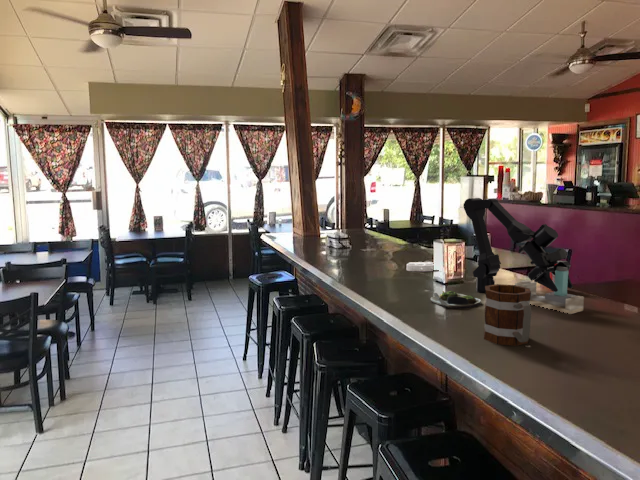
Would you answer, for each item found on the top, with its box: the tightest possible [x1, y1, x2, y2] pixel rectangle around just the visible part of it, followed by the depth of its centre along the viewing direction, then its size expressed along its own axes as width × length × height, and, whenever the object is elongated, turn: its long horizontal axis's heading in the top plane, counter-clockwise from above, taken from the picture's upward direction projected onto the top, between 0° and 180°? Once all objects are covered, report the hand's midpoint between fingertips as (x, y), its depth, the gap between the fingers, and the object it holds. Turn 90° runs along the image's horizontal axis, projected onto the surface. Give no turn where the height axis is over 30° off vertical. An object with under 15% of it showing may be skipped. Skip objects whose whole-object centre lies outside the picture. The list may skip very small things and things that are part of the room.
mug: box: [483, 283, 532, 347], centre depth 145 cm, size 20×14×15 cm
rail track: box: [514, 280, 585, 315], centre depth 183 cm, size 22×8×7 cm, turn 33°
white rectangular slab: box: [406, 261, 434, 272], centre depth 255 cm, size 3×18×15 cm
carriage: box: [544, 267, 577, 304], centre depth 178 cm, size 8×6×12 cm
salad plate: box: [430, 290, 482, 310], centre depth 191 cm, size 19×18×5 cm
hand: (564, 289), depth 178 cm, fingers open, 9 cm apart
